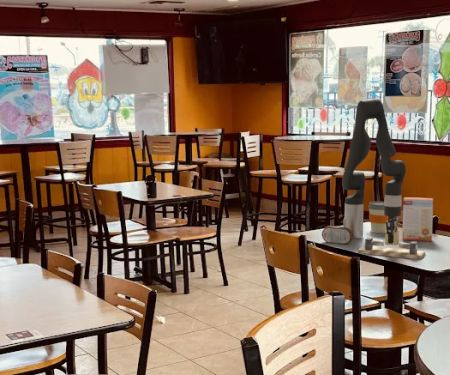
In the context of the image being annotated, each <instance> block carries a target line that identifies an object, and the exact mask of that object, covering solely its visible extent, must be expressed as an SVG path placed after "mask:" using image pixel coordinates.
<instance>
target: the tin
mask: <svg viewBox="0 0 450 375" xmlns="http://www.w3.org/2000/svg"><path fill="white" fill-rule="evenodd" d="M321 237H322V239H323V240H324V242H325V243H327V244H335V245H348V244H350V242H352V240H354V239H353V233H352V231H351V230H350V229H349V228H347V227H343V226H338V225H327V226H325V227H324V228H323V229H322V232H321Z"/></svg>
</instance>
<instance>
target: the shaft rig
mask: <svg viewBox="0 0 450 375" xmlns="http://www.w3.org/2000/svg"><path fill="white" fill-rule="evenodd" d="M373 238H374V237H366V238H365V239H364V245H363V246H362V247H360V248H358V249H357V253H358V254H363V253H366V254H365V255H374V256H375V255H376V256H385V257H394V258H395V257H396V258H403V259H404V258H406V259H413V260H414V259H415V260H422V259H423V258H424V257H425V256H426V251H425V250H418V249H419V248H418V246H419V245H418V241H415V240H411V242H410V243H407V242H399V244H398V248H394V247H384V246H385V240H376V239H375V240H374V239H373Z"/></svg>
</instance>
